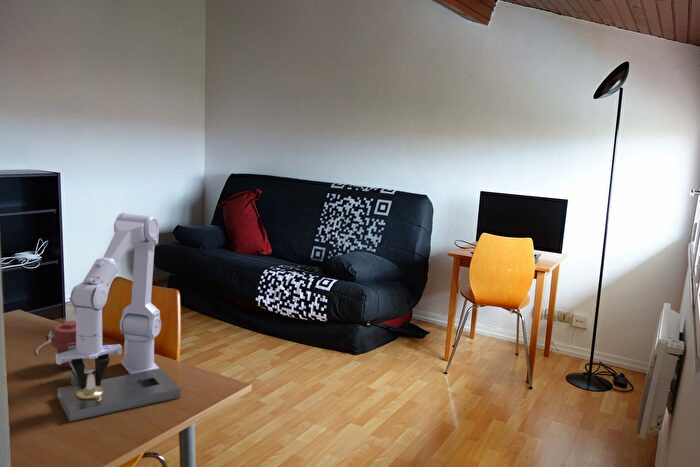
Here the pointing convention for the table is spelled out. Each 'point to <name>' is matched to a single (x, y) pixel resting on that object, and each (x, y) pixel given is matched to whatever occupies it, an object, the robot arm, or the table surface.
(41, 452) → the table surface
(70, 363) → the locking bolt
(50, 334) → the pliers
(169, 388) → the block
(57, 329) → the mechanical component
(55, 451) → the table surface
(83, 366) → the robot arm
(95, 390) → the gold disc with post
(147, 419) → the table surface
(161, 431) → the table surface
